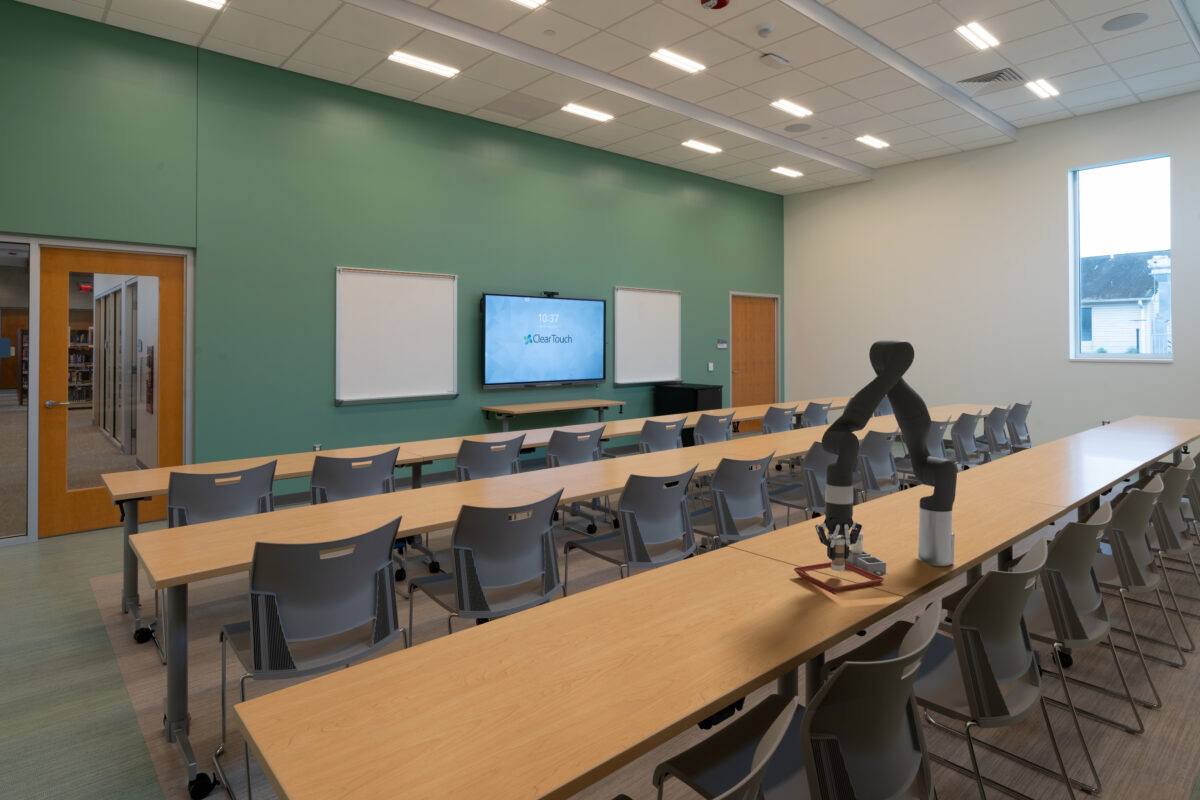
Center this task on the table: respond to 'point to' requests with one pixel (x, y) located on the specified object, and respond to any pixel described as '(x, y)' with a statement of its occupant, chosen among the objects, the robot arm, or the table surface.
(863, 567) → the block
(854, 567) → the plant saucer
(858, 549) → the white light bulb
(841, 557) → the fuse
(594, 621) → the table surface
